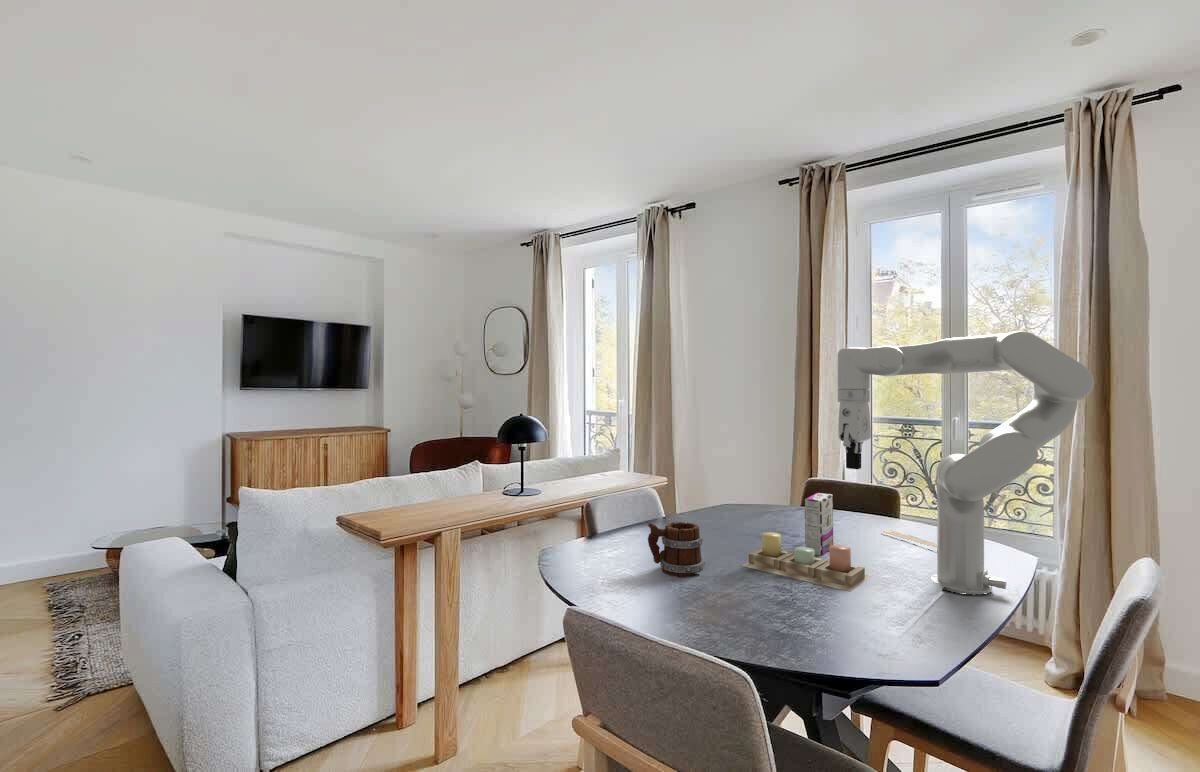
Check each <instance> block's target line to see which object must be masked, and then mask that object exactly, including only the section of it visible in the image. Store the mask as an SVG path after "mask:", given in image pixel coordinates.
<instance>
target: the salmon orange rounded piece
mask: <svg viewBox="0 0 1200 772" xmlns="http://www.w3.org/2000/svg"><path fill="white" fill-rule="evenodd" d="M851 551H852V549H851V547H850V546H848V545H843V544H842V545H841V544H833V545H831V546H829V552H828V553H829V556H828V557H829V559H828V561H829V567H830V568H831V569H833V570H837V571H850V570H851V565H852V563H851V562H852V557H851V556H852V552H851Z"/></svg>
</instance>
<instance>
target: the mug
mask: <svg viewBox="0 0 1200 772" xmlns="http://www.w3.org/2000/svg"><path fill="white" fill-rule="evenodd" d="M647 527H648V528H649V529H650V533H648V536H647V542H648V547H649V550H650V552H651V554H652V556H653V562H654V563H655V564H659V565H660V567H661V571H662V572H663V573H664V574H666V575H668V576H671V577H675V576H676V577H679V578H693V577H697V576H700V575H701V574H700V573H697V572H700V571H703V570H704V568H705V565H706V561H705V560H704V558H702V550H701V546H702V545H703V541H704V539H703V537H702V536H701V535H700V526H699V524H696V523H692V522H687V521H686V522H684V521H676V522H671V523H666V524H665V528H660V527H658V526H657V525H656V524H655V523H652V522H648V523H647ZM660 537H661V542H662V545H664V546H663V550H661V551H660V548H661V547H660V546H659V544H658V542H659V539H660Z"/></svg>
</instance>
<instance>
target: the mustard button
mask: <svg viewBox="0 0 1200 772" xmlns="http://www.w3.org/2000/svg"><path fill="white" fill-rule="evenodd" d="M761 548H762V554H764V555H767V556H780V555H781V551H782V535H781V534H780V533H777V532H770V531H769V532H763V533H761Z"/></svg>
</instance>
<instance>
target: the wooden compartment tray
mask: <svg viewBox="0 0 1200 772" xmlns="http://www.w3.org/2000/svg"><path fill="white" fill-rule="evenodd" d="M741 567H745V568H749V569H754V570H759V571H762V572H766V573H770V574H773V575H779V576H783V577H787V578H792V579H796V580H800V581H805V582H808V583H812V584H817V585H821V586H826V587H829V588H834V589H838V590H843V591H846V592H851V591H853V590H854V589H856V588H857V587H859V586H861V584H863V583H864V582H866V581H867V580H869V579H870V578H871V577H872V575H867V574H865V573H866V571H865V570H866V569H865V568H866V567H865V566H864V567H863V566H858V565H855V564H854V565H853V564H851V570H850V571H837V570H833V569H831V568H830V567H829V559H824V558H820V557H816V556H814V564H812V565H806V564H802V563H797V562H794V552H790V551H786V550H785V551H784V550H781V555H780V556H767V555H764V554H762V547H761V548H759V549H756V550H754V551H752V552H750V553H748V562H745V563H744V564H741Z"/></svg>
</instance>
